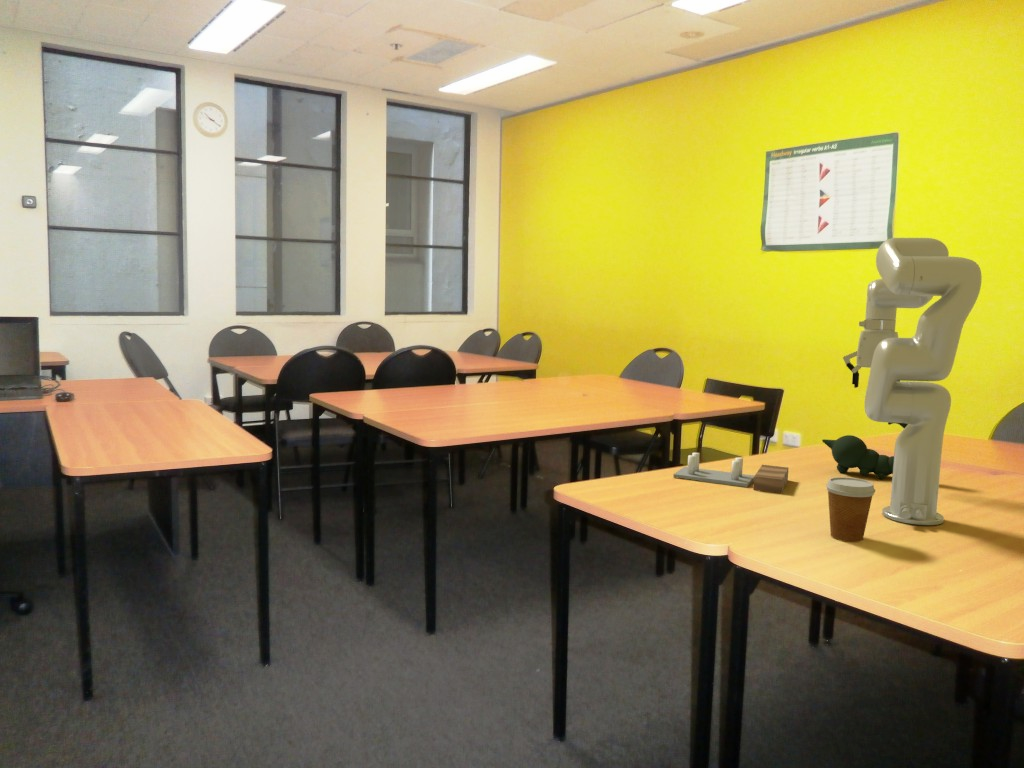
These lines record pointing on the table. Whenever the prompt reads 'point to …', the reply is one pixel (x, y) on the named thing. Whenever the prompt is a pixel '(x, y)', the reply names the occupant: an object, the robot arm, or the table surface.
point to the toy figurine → (860, 456)
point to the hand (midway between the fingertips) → (875, 388)
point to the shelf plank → (771, 478)
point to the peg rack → (715, 473)
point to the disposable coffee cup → (849, 507)
